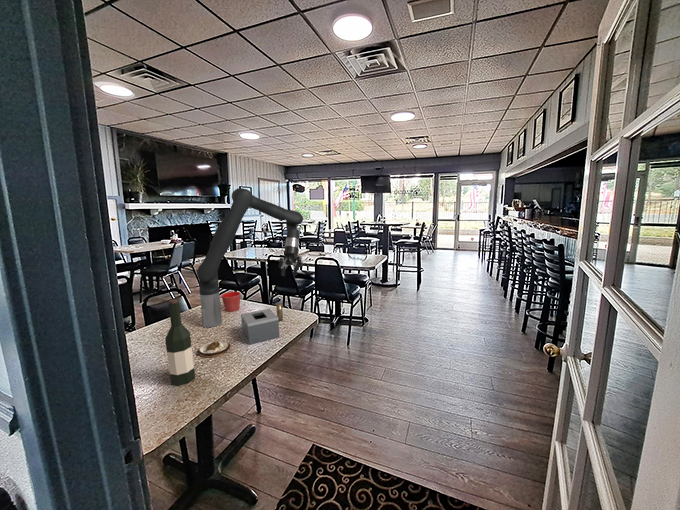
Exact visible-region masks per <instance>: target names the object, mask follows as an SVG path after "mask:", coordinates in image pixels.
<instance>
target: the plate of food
mask: <svg viewBox="0 0 680 510" xmlns="http://www.w3.org/2000/svg"><path fill="white" fill-rule="evenodd" d="M229 350H232V349H231V344H230V343H229V341H225V340H220V339H218V340H215V341H214V340H211V341H208V342H206V343H204V344H203V345H201V346H200V347H199V349H198V354H199V355H200V356H201V357H203V358H208V359H212V358H216V357H219V356H222V355H224V354H226V353H228V351H229Z"/></svg>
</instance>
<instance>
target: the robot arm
mask: <svg viewBox="0 0 680 510" xmlns="http://www.w3.org/2000/svg"><path fill="white" fill-rule="evenodd" d="M231 201H232V203H231V205H230V209H229V211H228V213H227V214H226V215H225V216H224V217H223V218H222V220H221V222H220V223H219V224H218V226H217V228H216V230H215V233H214V234H213V236H212V239H211V242H210V244H209V249H208V252H207V254H206V256H205V257H204V259H203V261H202V262H201V264H200V265H199V266H198V268H197V271H196V275H197V278H198V282H199V283H198V284H199V289H198V291H199V297H200V298H199V299H200V306H201V307H200V310H201V319H202V326H203V328H214V327H218V326H220V325H222V324H223V317H222V309H221V308H222V307H221V306H222V305H221V297H220V289H219V288H220V285H219V283H220V282H219V275H218V274H219V273H218V270H219V268H220V264H221V262H222V259H223V258H224V257H225V255H226V253H227V252H228V251H229V249H230V246H231V244H232V243H233V240H234V239H235V237H236V234H237V232H238V230H239V228H240V226H241V224H242V223H241V222H242V220H243V219H244V216H245V214H246V213H247V212H248V209H249V208H251V209H253V210H256V211H259V212H260V213H263V214H265V215H266V216H268V217H271V218H273V219H276V220H279V221H285V225H286V226H285V227H286V238H285V243H284V252H283V254H284V255H283V256H284V257H280V258H279V262H278V268H279V269H280V276H281V277H285V276H286V269H287V268H288V266H293V273H292V275H293V276H297V275H298V273H299V272H298V271H299V270H298V269H299V268H302V259H303V258H302V256H300V255H299V245H300V242H299V241H300V231H299V229H298V228H297V227H298V226H299V225H301V224H302V223H303V221H304V217H303V215H302V214H301V212H298V211H296V210H292V209H287V208H284V207H282V206H280V205H277V204H276V203H272V202H269V201H267V200H264V199H261V198H259V197H257V196H255V195H253V193H252V192H251V191H250V190H249V189H247V188H242V187H239V188H238V187H237V188H236V189H234V190H233V191H232V193H231Z"/></svg>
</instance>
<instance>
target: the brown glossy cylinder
mask: <svg viewBox="0 0 680 510" xmlns="http://www.w3.org/2000/svg"><path fill="white" fill-rule="evenodd" d="M275 306H276V316H277V317H278V321H279V323H280V321H281V322H283V321H284V315H283V304H282V303H281V302H280V303H279V302H278V303H276V305H275Z"/></svg>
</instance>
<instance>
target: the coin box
mask: <svg viewBox="0 0 680 510" xmlns="http://www.w3.org/2000/svg"><path fill="white" fill-rule="evenodd" d="M240 320H241V329H242V330H241V331H242V335H243V336H244V338H245V340H246V342H247V344H248V345H249V346H251V345H257V344H260V343H263V341H264V342H268V341H271V340H270V339H272V340H276V339H279V337H280V326H279V325H280V322H279V321H278V317H277V314H275V312H273V310H272V309H270V308H267V309H266V308H265V309H261V310H256V311H250V312H246V313H241V314H240ZM275 338H276V339H275ZM267 340H268V341H267ZM259 342H260V343H259Z"/></svg>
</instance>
